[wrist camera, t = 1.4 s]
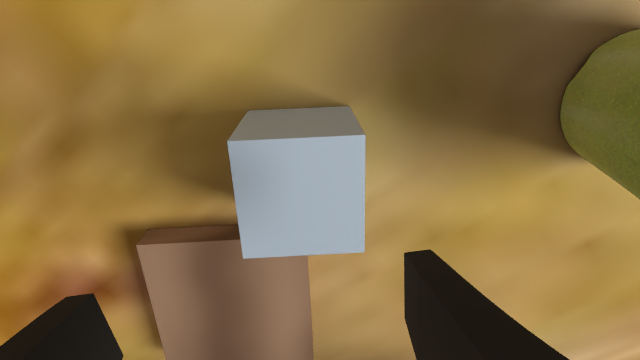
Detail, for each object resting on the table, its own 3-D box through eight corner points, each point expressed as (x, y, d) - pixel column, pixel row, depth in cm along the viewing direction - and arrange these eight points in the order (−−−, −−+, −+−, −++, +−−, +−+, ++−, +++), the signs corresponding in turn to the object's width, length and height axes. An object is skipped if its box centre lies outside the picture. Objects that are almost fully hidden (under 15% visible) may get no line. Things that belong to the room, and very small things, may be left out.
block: (349, 105, 17) (365, 135, 12) (349, 197, 19) (364, 252, 14) (248, 110, 17) (227, 141, 12) (258, 201, 19) (243, 258, 14)
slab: (305, 216, 20) (305, 235, 18) (312, 333, 23) (313, 361, 21) (152, 224, 20) (135, 245, 18) (179, 341, 23) (168, 369, 21)
